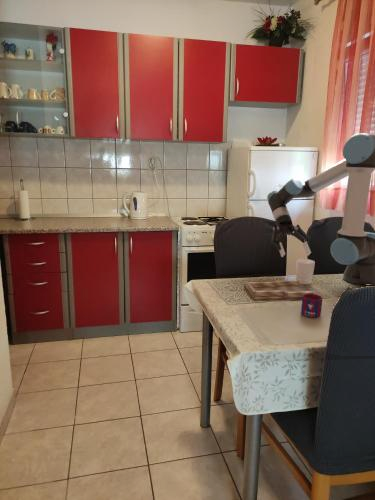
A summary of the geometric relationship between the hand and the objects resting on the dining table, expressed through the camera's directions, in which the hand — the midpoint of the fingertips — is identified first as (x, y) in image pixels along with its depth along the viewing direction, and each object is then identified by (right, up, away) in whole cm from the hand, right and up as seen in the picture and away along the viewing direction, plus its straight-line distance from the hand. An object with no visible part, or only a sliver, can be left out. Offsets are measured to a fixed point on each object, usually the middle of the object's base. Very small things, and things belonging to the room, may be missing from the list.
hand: (296, 255), depth 170 cm
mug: (-6, -21, -39) cm, 44 cm away
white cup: (+2, -13, -4) cm, 13 cm away
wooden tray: (-13, -15, -18) cm, 27 cm away
